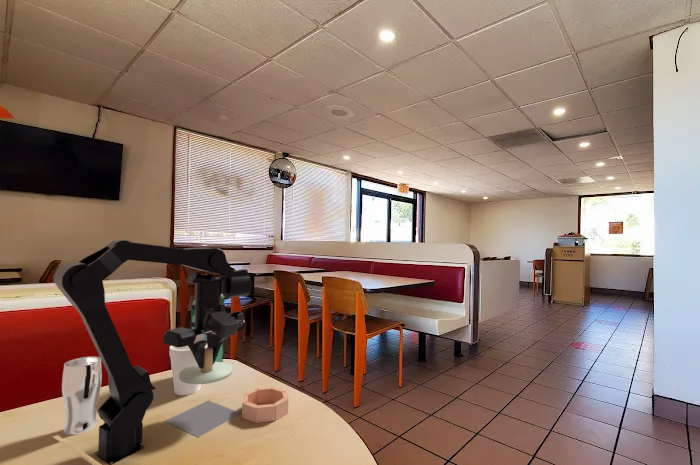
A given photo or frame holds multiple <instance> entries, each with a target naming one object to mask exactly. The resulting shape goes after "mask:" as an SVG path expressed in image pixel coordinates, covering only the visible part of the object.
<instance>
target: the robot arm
mask: <svg viewBox="0 0 700 465" xmlns="http://www.w3.org/2000/svg"><path fill="white" fill-rule="evenodd" d="M128 261H135V262H148V263H157V264H169V265H179V266H184V267H187V268H190V269H194V270H197V271H202V272H208V273H207V274H201V273H200V272H197V271H193V272H192V274H191V275H190V276H188V277H187V278H186V279H185V281H186V282H187V283H191V284H195V293H194V294H195V295H194V296H195V299H194V301H195V304H193V303H192V304H193V305H192V304H191V307H192V309H194V310H195V321H194V322H191V321H190V328H186V327H182V326H181V327H180V326H179V327H177V328H176V327H175V328H172V329H168V330H166V331H165V333H164V334H163V336H162V337H163V338H162V339H163V340H162V341H163V342H162V343H163V344H165V345H168V346H174V347H184V346H188V347H189V348H190V350H191V352H192V354H193V356H194V358H195V360H196V362H197V364H198V366H199V368H201V369H202V368H204V357H205V346H206V344H207V345H208V348H213V364H214V363H215V360H216V358H217V355H218V352H219V350H220V347H221V345H222V343H223V344H224V341H225V340H227V339H228V338H229V337H231V336H234V335H236V334H237V332H238V331H239V332H240V331H242V330H246V329H245V328H246V321H245V320H244V319H245V318H244V312H243V311H241V310H237V311H233V312H226V306H225V303H224V304H221V294H223V296H224V298H227V299H229V298H237V297H243V296H244V297H245V296H250V294H251V292H252V289H253V282H252V278H251V277H250V275H249V272H248V269H245V268H243V269H242V268H240V269H238V270H234V269H233V268H232V266H231V265H230V264H229V262H228V261H227V257H226V254H225V252H224V250H223V249H220V248H217V247H205V246H203V247H202V246H201V247H187V248H180V247H179V248H178V247H171V246H164V245H157V244H156V245H155V244H148V243H139V242H133V241H130V240H127V239H126V240H125V239H115V240H113V241H111V242H110V243H109V244H108V245H106V246H104V247H102V248H100V249H98V250H96V251H95V252H92V253H91V254H88V255H86V256H85V257H84V258H82V259H80V260H78V261H72V262H67V263H66V264H63V265H61V266H60V267H59V268H58V269H57V270H56V272H55V274H54V277H53V278H54V280H53V281H54V284H55V286H56V287H57V288H58V289H59V291H60V292H61V293H62V294H63V296H64V297H65V298H66V300H68V302H69V303H70V304H71V305H72V306H73V308H74V309H75V310H76V311H77V313H79V316H80V318H81V320H82V322H83V325H84V326H85V328H86V331H87V332H88V335H89V337H90V338H91V341H92V343H93V345H94V347H95V349H96V352H97V354H98V357H100V358H101V363H102V364H103V366H104V368H105V370H106V372H107V375H108V376H107V377H108V378H107V380H108V382H107V383H108V389H109V390H108V391H109V394H110V395H109V396H108V398H107V399H106V400H105V401H104V402H103V403H101V405H100V406H99V408H98V409H96V413H97V414H98V415H99V417H100V420H102V421H103V424H101V425H99V426H98V446H97V448H98V450H97V451H95V452H94V453H93V455H94V456H95V457H97V459H98V458H99V460H101V461H103V462H104V463H105V464H107V465H114V464H116V463H118V462H120V461H122V460H125V459H126V458H128V457H130V456H132V455H134V454H136V453H138V452H140V451H141V450H143V449H145V446H144V445H142V443H143V431H144V430H143V424H144V423H143V420H144V418H145V416H146V412H147V410H148V409H149V407H150V406H151V405H152V403H153V401H154V399H155V395H154V390H156V389H157V388H156V386H154V385H153V384H152V382H151V377H150V374H149V372H148V370H146V369H144V368H143V367H141V366H140V365H138V364H136V365H135V366H133V363H132V362H131V360H130V357H129V355H128V353H127V351H126V349H125V347H124V345H123V342H122V340H121V338H120V336H119V333H118V331H117V328H116V327H115V325H114V322H113V320H112V318H111V316H110V314H109V311H108V308H107V306H106V293H105V287H104V281H105V279H106V278H108V277H109V276H111V275H112V274H114V273H115V271H116V270H117V269H119V268H120V267H121V266H122V265H123V264H124V263H126V262H128ZM215 275H218V276H217V277H215ZM103 280H104V281H103ZM191 327H195V329H191ZM204 330H205V331H204ZM205 334H207V341H206V340H204V335H205Z"/></svg>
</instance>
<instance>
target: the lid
mask: <svg viewBox="0 0 700 465" xmlns="http://www.w3.org/2000/svg"><path fill="white" fill-rule="evenodd" d="M232 374H233V366H232V365H231V364H230V363H228V362H215V363H214V364H213V348H205V357H204V368H202V369H201V368H199V366H198V364H195V365H191V366H189V367H186V368H184V369H183V370H182V371H181V372H180V374H179V379H180V380H181V381H182V382H184V383H188V384H201V385H207V384H213V383H216V382H220V381H222V380H225V379H227V378H229V377H230V376H231V375H232Z"/></svg>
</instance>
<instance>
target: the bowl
mask: <svg viewBox="0 0 700 465" xmlns="http://www.w3.org/2000/svg"><path fill="white" fill-rule="evenodd" d="M288 394H289V393H288V391H287V390H286V389H282V388H279V387H276V386H266V387H256V388H253V389H251V390H250V391H247V392H246V393H243V394H242V401H241V402H242V403H241V404H242V405H241V418H242V419H245V420H247V421H249V422H253V423H255V424H256V423H257V424H258V423H267V422H275V421H277V420H279V419H280V418H282V417H284V416H285V415H287V414H289V413H288V412H289V395H288Z"/></svg>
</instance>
